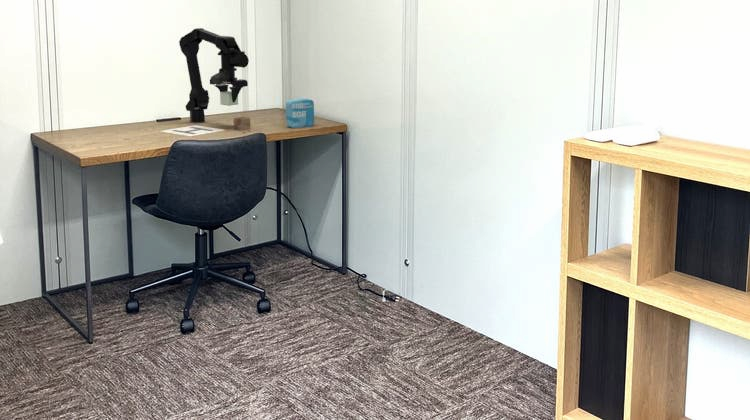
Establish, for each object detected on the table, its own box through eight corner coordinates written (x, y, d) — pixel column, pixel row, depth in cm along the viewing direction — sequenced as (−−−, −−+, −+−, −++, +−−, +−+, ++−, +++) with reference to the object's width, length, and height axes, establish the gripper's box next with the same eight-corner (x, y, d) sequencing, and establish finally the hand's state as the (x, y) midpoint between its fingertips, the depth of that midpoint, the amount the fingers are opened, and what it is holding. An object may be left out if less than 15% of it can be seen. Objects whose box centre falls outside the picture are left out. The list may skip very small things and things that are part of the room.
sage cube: (220, 104, 404) (220, 92, 403) (229, 103, 408) (229, 91, 407) (229, 105, 401) (228, 93, 400) (238, 104, 405) (237, 92, 404)
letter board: (159, 133, 395) (159, 131, 394) (195, 127, 410) (195, 125, 410) (190, 138, 383) (190, 136, 382) (226, 132, 398) (226, 129, 398)
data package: (290, 128, 409) (290, 101, 406) (286, 127, 412) (285, 100, 409) (314, 126, 415) (314, 99, 412) (309, 124, 419) (309, 98, 416)
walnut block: (234, 131, 399) (233, 118, 398) (242, 130, 403) (242, 116, 402) (242, 133, 397) (241, 119, 395) (250, 131, 400) (250, 117, 399)
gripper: (199, 66, 400) (201, 101, 404) (228, 68, 389) (230, 105, 393) (218, 64, 408) (220, 99, 412) (247, 66, 397) (249, 102, 401)
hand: (229, 101), depth 404 cm, fingers closed on sage cube, 5 cm apart
